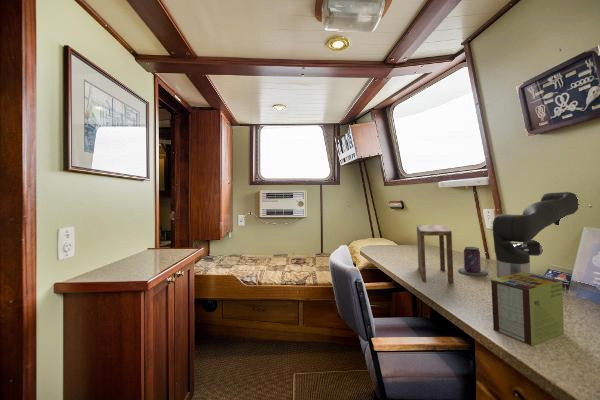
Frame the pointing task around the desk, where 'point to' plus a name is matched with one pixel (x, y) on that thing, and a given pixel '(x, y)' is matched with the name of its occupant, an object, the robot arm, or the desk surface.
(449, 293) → the desk surface
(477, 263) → the beverage can
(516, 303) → the protein box
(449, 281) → the walnut shelf
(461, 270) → the charcoal mat
